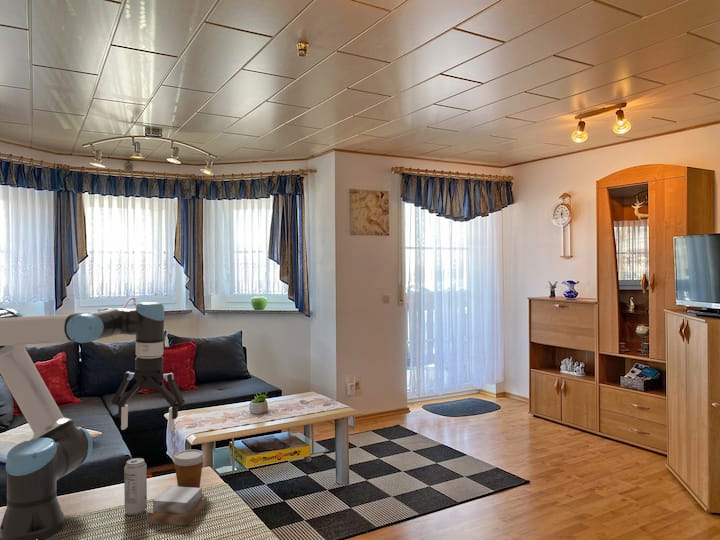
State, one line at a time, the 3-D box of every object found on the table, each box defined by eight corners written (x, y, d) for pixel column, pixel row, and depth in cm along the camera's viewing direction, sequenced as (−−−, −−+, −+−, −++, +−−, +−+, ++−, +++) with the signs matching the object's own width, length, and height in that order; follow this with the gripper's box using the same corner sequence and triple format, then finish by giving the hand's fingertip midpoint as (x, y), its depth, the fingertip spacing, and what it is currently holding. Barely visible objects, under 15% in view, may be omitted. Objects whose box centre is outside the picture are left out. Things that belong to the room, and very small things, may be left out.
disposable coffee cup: (181, 501, 169) (181, 462, 169) (168, 491, 176) (167, 453, 176) (210, 492, 176) (209, 454, 175) (196, 483, 183) (196, 446, 182)
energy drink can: (150, 511, 162) (150, 460, 162) (130, 518, 158) (130, 466, 158) (140, 505, 166) (140, 455, 166) (120, 512, 162) (120, 461, 162)
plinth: (147, 523, 155) (147, 501, 155) (168, 504, 167) (168, 484, 167) (188, 526, 154) (188, 504, 154) (206, 506, 166) (206, 486, 165)
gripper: (100, 357, 156) (98, 431, 157) (188, 359, 157) (187, 434, 157) (111, 352, 164) (110, 423, 165) (196, 355, 164) (194, 426, 165)
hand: (147, 429), depth 161 cm, fingers open, 13 cm apart
